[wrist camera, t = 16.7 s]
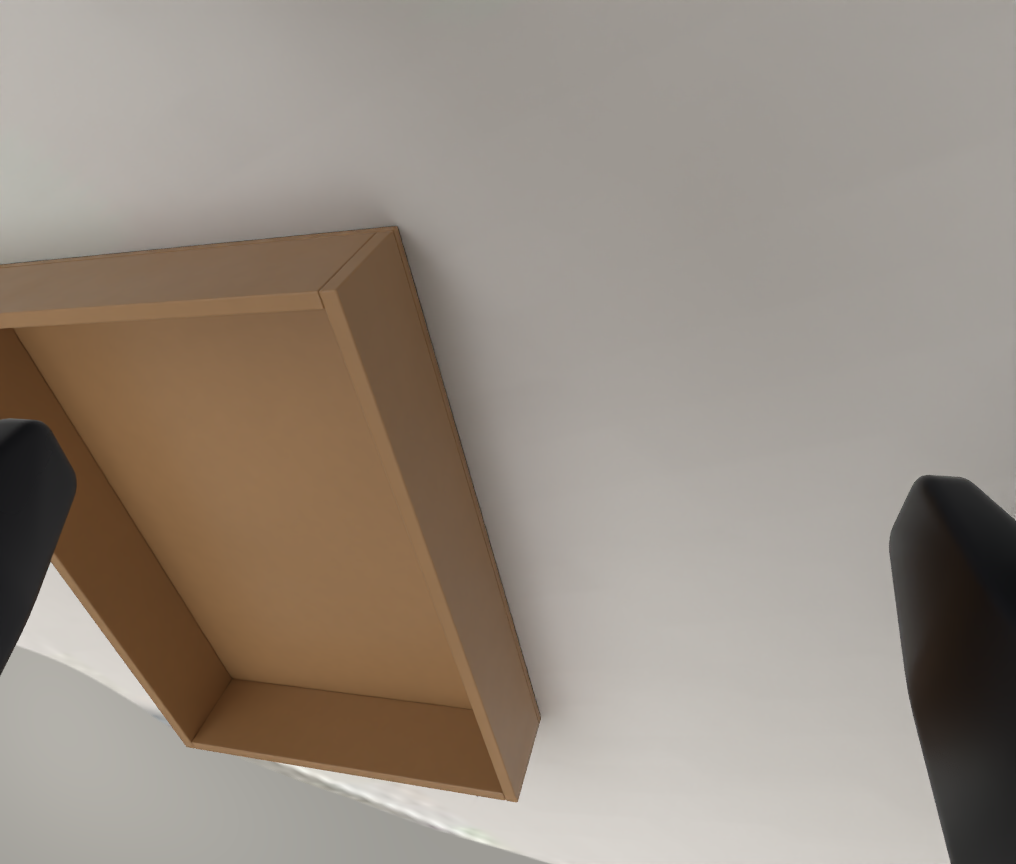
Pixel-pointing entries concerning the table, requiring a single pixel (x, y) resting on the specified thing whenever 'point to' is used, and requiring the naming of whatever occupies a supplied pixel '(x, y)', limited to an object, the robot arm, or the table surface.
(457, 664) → the brown wooden tray
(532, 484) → the table surface
